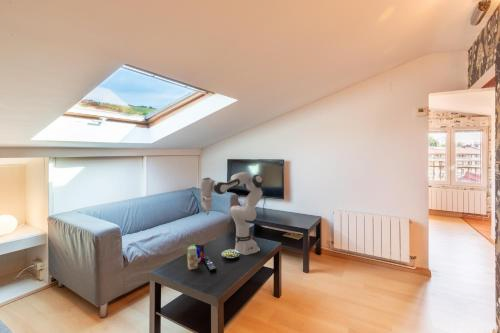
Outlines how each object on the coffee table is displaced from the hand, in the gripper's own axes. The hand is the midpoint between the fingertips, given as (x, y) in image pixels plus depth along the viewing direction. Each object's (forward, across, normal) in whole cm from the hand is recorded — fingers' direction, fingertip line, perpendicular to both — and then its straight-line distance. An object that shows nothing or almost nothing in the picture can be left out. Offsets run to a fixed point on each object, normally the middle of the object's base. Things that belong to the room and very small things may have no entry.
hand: (206, 213), depth 212 cm
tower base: (+34, +21, -16) cm, 43 cm away
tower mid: (+29, +21, -16) cm, 39 cm away
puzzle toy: (+34, +8, -11) cm, 37 cm away
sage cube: (+24, +21, -16) cm, 36 cm away
